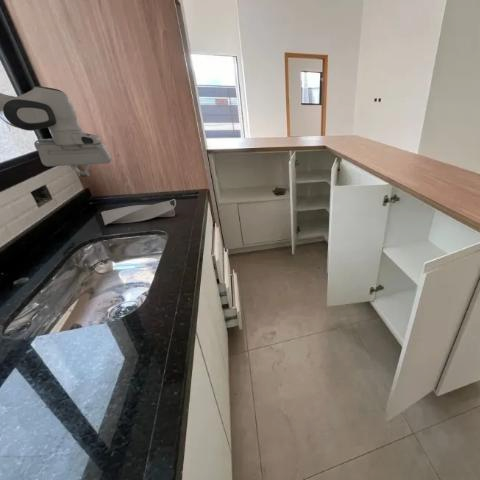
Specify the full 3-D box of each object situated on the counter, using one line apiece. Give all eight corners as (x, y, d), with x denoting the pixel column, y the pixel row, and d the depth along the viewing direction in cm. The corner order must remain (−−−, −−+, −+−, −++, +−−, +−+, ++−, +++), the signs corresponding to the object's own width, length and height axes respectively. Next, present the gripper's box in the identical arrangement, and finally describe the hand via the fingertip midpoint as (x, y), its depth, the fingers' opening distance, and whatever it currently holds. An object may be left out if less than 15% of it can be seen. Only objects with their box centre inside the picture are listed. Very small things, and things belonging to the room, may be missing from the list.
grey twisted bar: (98, 209, 108) (175, 199, 119) (103, 207, 114) (175, 198, 126) (105, 227, 110) (179, 216, 121) (109, 224, 116) (179, 214, 128)
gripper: (27, 140, 89) (46, 180, 96) (101, 138, 97) (114, 176, 104) (35, 138, 94) (53, 176, 101) (105, 136, 102) (117, 172, 109)
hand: (84, 176), depth 102 cm, fingers closed
